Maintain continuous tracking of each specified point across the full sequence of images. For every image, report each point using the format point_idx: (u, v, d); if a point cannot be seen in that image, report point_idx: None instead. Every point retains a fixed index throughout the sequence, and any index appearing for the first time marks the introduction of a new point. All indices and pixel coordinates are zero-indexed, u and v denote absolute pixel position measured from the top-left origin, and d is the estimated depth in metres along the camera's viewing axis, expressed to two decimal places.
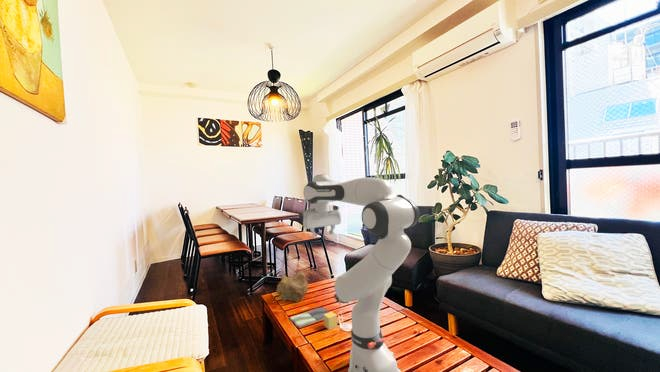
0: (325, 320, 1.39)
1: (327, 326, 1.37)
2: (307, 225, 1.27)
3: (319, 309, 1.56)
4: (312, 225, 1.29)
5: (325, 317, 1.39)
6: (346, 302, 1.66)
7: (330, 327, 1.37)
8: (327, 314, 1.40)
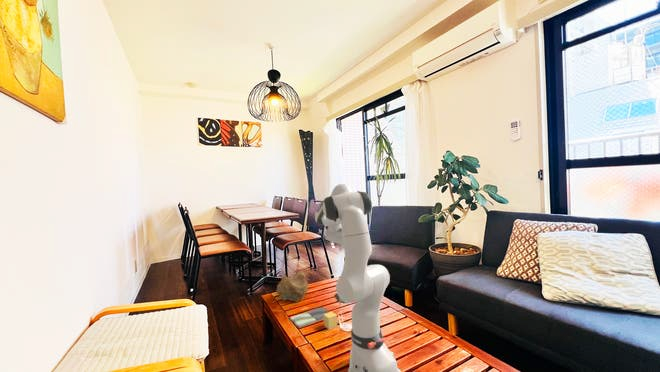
0: (325, 320, 1.39)
1: (327, 326, 1.37)
2: None
3: (319, 309, 1.56)
4: None
5: (325, 317, 1.39)
6: None
7: (330, 327, 1.37)
8: (327, 314, 1.40)
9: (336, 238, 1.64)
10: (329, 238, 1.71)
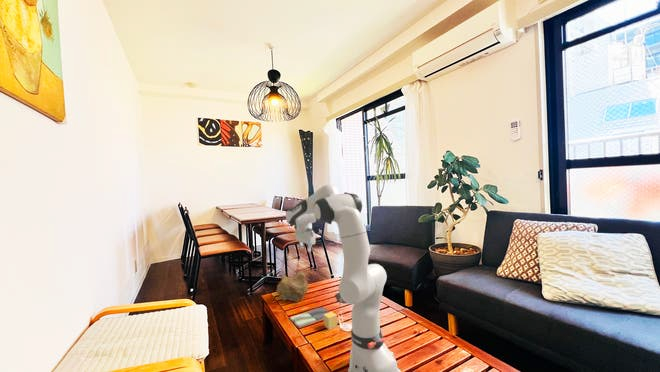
0: (325, 320, 1.39)
1: (327, 326, 1.37)
2: None
3: (319, 309, 1.56)
4: None
5: (325, 317, 1.39)
6: None
7: (330, 327, 1.37)
8: (327, 314, 1.40)
9: (304, 238, 1.60)
10: (298, 238, 1.67)
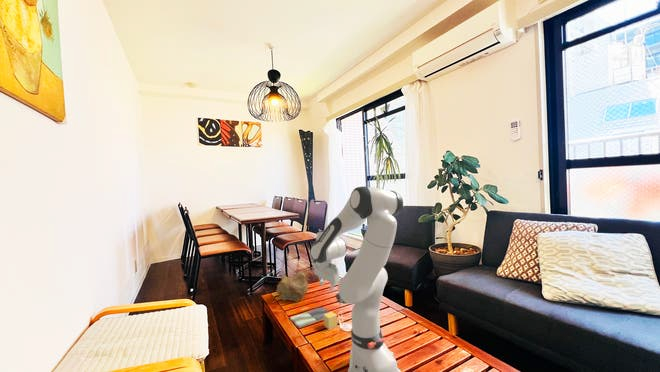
0: (325, 320, 1.39)
1: (327, 326, 1.37)
2: None
3: (319, 309, 1.56)
4: None
5: (325, 317, 1.39)
6: None
7: (330, 327, 1.37)
8: (327, 314, 1.40)
9: (325, 275, 1.37)
10: (318, 273, 1.44)
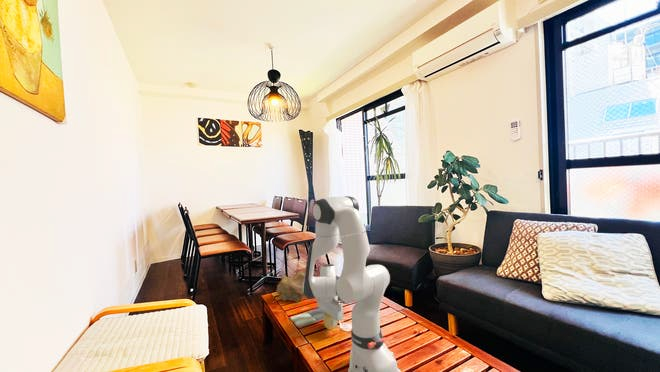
0: (325, 320, 1.39)
1: (327, 326, 1.37)
2: None
3: (319, 309, 1.56)
4: None
5: (325, 317, 1.39)
6: (347, 303, 1.65)
7: (330, 327, 1.36)
8: (327, 314, 1.40)
9: (329, 310, 1.36)
10: (321, 307, 1.43)
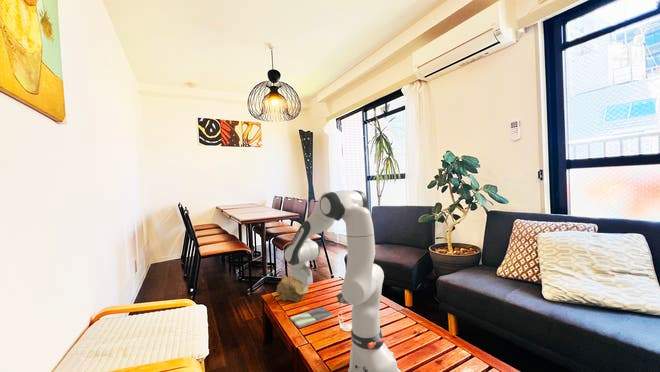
0: (297, 286, 1.46)
1: (298, 291, 1.44)
2: None
3: (319, 309, 1.56)
4: None
5: (297, 283, 1.46)
6: (347, 303, 1.64)
7: (301, 292, 1.44)
8: None
9: (300, 276, 1.43)
10: (294, 274, 1.50)
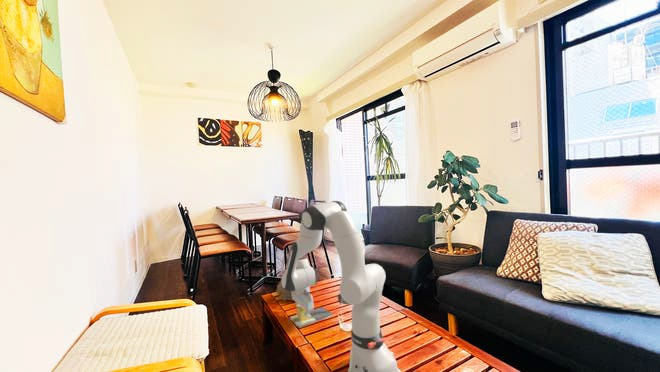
0: (298, 313, 1.46)
1: (299, 318, 1.44)
2: None
3: (319, 309, 1.56)
4: None
5: (298, 310, 1.46)
6: (347, 303, 1.64)
7: (302, 319, 1.44)
8: (300, 307, 1.47)
9: (301, 301, 1.43)
10: (294, 298, 1.50)
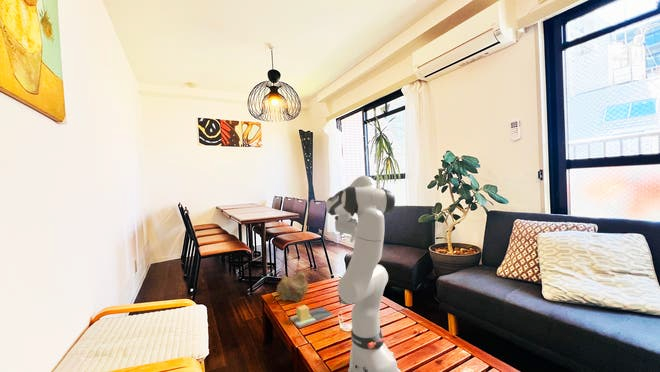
0: (298, 313, 1.46)
1: (299, 318, 1.44)
2: None
3: (319, 309, 1.56)
4: None
5: (298, 310, 1.46)
6: None
7: (302, 319, 1.44)
8: (300, 307, 1.47)
9: (347, 229, 1.56)
10: (339, 229, 1.63)
